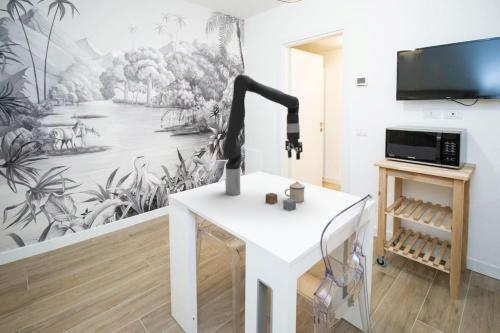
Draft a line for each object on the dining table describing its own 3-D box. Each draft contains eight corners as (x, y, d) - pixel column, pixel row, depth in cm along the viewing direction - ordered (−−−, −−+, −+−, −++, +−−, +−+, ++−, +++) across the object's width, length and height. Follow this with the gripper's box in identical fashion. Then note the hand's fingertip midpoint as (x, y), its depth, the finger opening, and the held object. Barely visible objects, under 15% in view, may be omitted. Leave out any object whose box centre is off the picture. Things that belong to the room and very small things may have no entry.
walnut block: (265, 202, 163) (265, 194, 162) (271, 200, 166) (271, 192, 165) (271, 204, 160) (271, 196, 158) (277, 202, 163) (277, 194, 162)
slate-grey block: (283, 208, 153) (283, 200, 152) (288, 206, 156) (289, 198, 155) (289, 211, 149) (290, 202, 148) (295, 208, 153) (295, 200, 152)
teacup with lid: (302, 197, 171) (302, 179, 168) (305, 202, 162) (306, 183, 160) (283, 197, 171) (283, 179, 168) (285, 202, 162) (286, 184, 159)
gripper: (281, 131, 163) (282, 157, 166) (294, 132, 151) (295, 161, 154) (291, 130, 166) (292, 156, 170) (305, 131, 154) (306, 159, 157)
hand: (293, 158), depth 162 cm, fingers open, 8 cm apart
